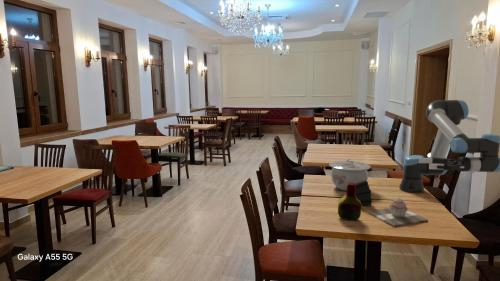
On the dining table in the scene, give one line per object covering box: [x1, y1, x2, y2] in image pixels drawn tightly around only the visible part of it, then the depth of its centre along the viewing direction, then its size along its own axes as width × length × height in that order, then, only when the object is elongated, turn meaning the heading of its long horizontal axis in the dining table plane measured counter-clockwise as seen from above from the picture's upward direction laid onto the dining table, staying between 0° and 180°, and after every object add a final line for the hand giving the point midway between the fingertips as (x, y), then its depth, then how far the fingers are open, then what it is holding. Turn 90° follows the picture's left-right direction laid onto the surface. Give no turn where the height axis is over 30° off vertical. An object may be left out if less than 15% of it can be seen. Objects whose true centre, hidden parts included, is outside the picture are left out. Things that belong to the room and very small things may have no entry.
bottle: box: [337, 183, 363, 221], centre depth 174 cm, size 12×6×20 cm, turn 67°
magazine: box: [355, 180, 373, 207], centre depth 196 cm, size 4×13×15 cm, turn 67°
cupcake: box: [388, 197, 409, 218], centre depth 176 cm, size 9×9×10 cm
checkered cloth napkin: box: [367, 207, 429, 228], centre depth 177 cm, size 22×20×1 cm
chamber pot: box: [329, 159, 372, 192], centre depth 226 cm, size 28×28×21 cm
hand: (424, 163), depth 172 cm, fingers open, 13 cm apart
